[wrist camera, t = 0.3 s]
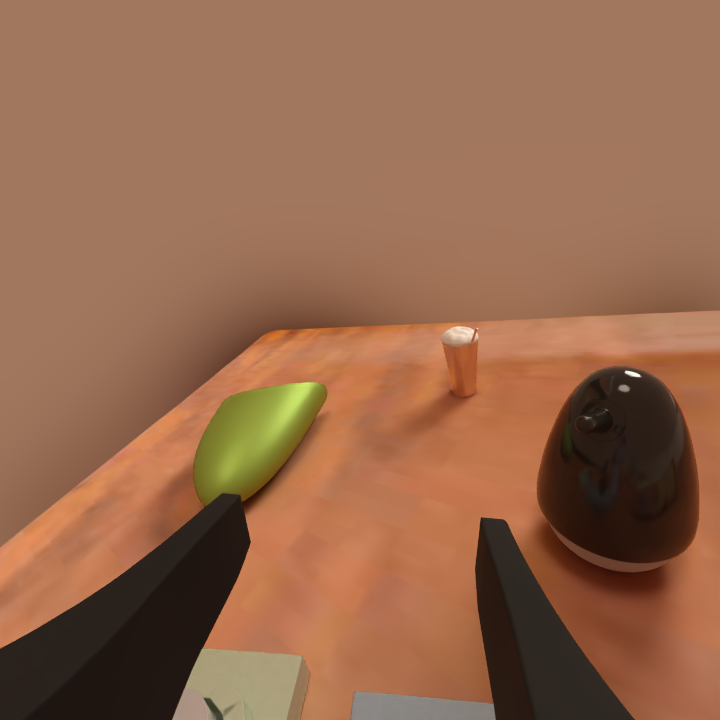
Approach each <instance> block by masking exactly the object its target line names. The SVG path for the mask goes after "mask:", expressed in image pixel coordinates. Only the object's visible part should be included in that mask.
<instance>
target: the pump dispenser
mask: <svg viewBox="0 0 720 720" xmlns="http://www.w3.org/2000/svg"><path fill="white" fill-rule="evenodd" d="M537 499H538V503H539V506H540V509H541V511H542V513H543V514H544V516H545V518H546V519H547V521H548V523H549V525H550V527H551V528H552V530H553V531H554V533H555V534H556V535H557V537H558V538H559V539H560V540H561V541H562V542H563V544H564V545H566V546H567V547H568V548H569V549H570V550H571V551H573V552H574V553H575V554H577V555H578V556H580V557H581V558H583V559H585V560H586V561H588V562H590V563H592V564H595V565H597V566H600V567H603V568H606V569H610V570H614V571H620V572H642V571H648V570H652V569H655V568H658V567H660V566H662V565H664V564H666V563H667V562H669V561H670V560H672V559H673V558H674V557H676V556H678V555H679V554H681V553H683V552H684V551H685V550H686V549H687V548H688V547H689V546H690V545H691V543H692V542H693V540H694V537H695V535H696V531H697V527H698V521H699V480H698V471H697V464H696V459H695V454H694V449H693V444H692V440H691V436H690V432H689V429H688V426H687V423H686V420H685V418H684V415H683V413H682V410H681V408H680V406H679V404H678V403H677V401H676V399H675V398H674V396H673V395H672V393H671V392H670V390H669V389H668V388H667V387H666V385H665V384H664V383H663V382H662V381H661V380H659V379H658V378H657V377H656V376H654V375H652V374H651V373H649V372H647V371H644V370H641V369H638V368H634V367H629V366H613V367H607V368H603V369H600V370H598V371H596V372H594V373H592V374H590V375H589V376H588V377H586V378H585V379H584V380H583V381H582V382H581V383H580V384H579V385H578V386H577V387H576V388H575V389H574V390H573V392H572V393H571V394H570V396H569V397H568V399H567V400H566V402H565V403H564V405H563V407H562V408H561V410H560V412H559V414H558V416H557V418H556V421H555V423H554V425H553V427H552V430H551V432H550V435H549V437H548V440H547V443H546V445H545V449H544V452H543V455H542V459H541V464H540V468H539V473H538V479H537Z"/></svg>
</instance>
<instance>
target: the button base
mask: <svg viewBox="0 0 720 720" xmlns="http://www.w3.org/2000/svg"><path fill="white" fill-rule="evenodd" d="M309 677H310V671H309V669H308V667H307V665H306V662H305V660H304V658H303V656H302V655H290V654H276V653H262V652H248V651H234V650H221V649H207V648H202V650H201V652H200V654H199V656H198V659H197V661H196V663H195V665H194V667H193V669H192V672H191V674H190V676H189V679H188V681H187V684H186V686H185V688H189V689H193V690H195V691H197V692H198V693H199V694H200V695H201V696H202V697H203V698H204V700H205V701H206V703H207V704H208V706H209V707H210V708H211V710H212V711H213V713H214V714H215V716H216V717H217V720H300V716H301V712H302V707H303V703H304V699H305V694H306V690H307V685H308V681H309Z"/></svg>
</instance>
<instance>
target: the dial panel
mask: <svg viewBox="0 0 720 720" xmlns="http://www.w3.org/2000/svg"><path fill="white" fill-rule="evenodd" d="M350 720H496V718H495V711H494V704H493V703H482V702H471V701H460V700H449V699H438V698H427V697H416V696H405V695H394V694H383V693H372V692H361V691H355V692H354V697H353V704H352V711H351V718H350Z"/></svg>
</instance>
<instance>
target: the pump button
mask: <svg viewBox="0 0 720 720" xmlns="http://www.w3.org/2000/svg"><path fill="white" fill-rule="evenodd" d="M172 720H217V717H216V716H215V714H214V713H213V711H212V710H211V708H210V707H209V706H208V704H207V703H206V701H205V700H204V698H203V697H202V696H201V695H200V694H199V693H198V692H197V691H195V690H193V689H189V688H185V689H184V691H183V694H182V696H181V699H180V701H179V704H178V706H177V709H176V711H175V714H174V716H173V719H172Z"/></svg>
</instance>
